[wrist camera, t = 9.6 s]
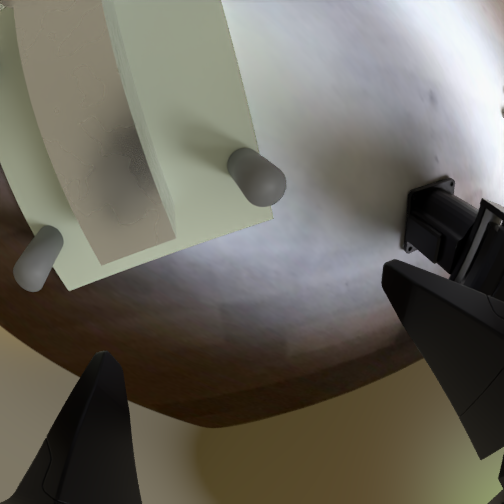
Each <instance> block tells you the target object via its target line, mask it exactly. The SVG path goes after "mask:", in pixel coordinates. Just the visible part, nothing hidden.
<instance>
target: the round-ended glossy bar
mask: <svg viewBox="0 0 504 504" xmlns="http://www.w3.org/2000/svg"><path fill="white" fill-rule="evenodd" d="M0 3H1V4H2V5H4V6H6V7H9V8H11V9H14V18H15V27H16V34H17V41H18V47H19V53H20V58H21V63H22V68H23V73H24V77H25V81H26V85H27V89H28V93H29V97H30V100H31V104H32V107H33V111H34V114H35V117H36V120H37V124H38V127H39V130H40V133H41V136H42V138H43V141H44V144H45V147H46V150H47V152H48V155H49V158H50V160H51V163H52V165H53V168H54V170H55V173H56V175H57V177H58V180H59V182H60V184H61V187H62V189H63V191H64V194H65V196H66V198H67V200H68V202H69V204H70V207H71V209H72V211H73V213H74V215H75V217H76V219H77V221H78V223H79V225H80V227H81V229H82V231H83V233H84V235H85V237H86V238H87V240H88V242H89V244H90V246H91V248H92V250H93V251H94V253H95V255H96V257H97V259H98V260H99V262H100V264H101V266H102V265H105V264H107V263H110V262H113V261H115V260H118V259H121V258H123V257H126V256H129V255H132V254H134V253H137V252H140V251H143V250H145V249H148V248H151V247H154V246H157V245H159V244H162V243H165V242H168V241H171V240H174V239H176V221H175V205H174V202H173V199H172V197H171V194H170V191H169V188H168V186H167V183H166V180H165V177H164V174H163V171H162V169H161V166H160V163H159V160H158V157H157V154H156V151H155V148H154V145H153V142H152V139H151V136H150V133H149V130H148V126H147V123H146V120H145V117H144V114H143V111H142V107H141V104H140V101H139V97H138V94H137V91H136V87H135V84H134V80H133V77H132V73H131V70H130V66H129V62H128V59H127V55H126V51H125V47H124V43H123V39H122V35H121V31H120V27H119V23H118V19H117V14H116V10H115V6H114V1H113V0H0Z"/></svg>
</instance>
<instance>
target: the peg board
mask: <svg viewBox="0 0 504 504" xmlns="http://www.w3.org/2000/svg"><path fill="white" fill-rule="evenodd" d="M113 1H114V6H115V10H116V14H117V19H118V23H119V27H120V31H121V35H122V39H123V43H124V47H125V51H126V55H127V59H128V62H129V66H130V70H131V73H132V77H133V80H134V84H135V87H136V91H137V94H138V97H139V101H140V104H141V107H142V111H143V114H144V117H145V120H146V123H147V126H148V130H149V133H150V136H151V139H152V142H153V145H154V148H155V151H156V154H157V157H158V160H159V163H160V166H161V169H162V171H163V174H164V177H165V180H166V183H167V186H168V188H169V191H170V194H171V197H172V199H173V202H174V205H175V221H176V239H174V240H171V241H168V242H165V243H162V244H159V245H157V246H154V247H151V248H148V249H145V250H143V251H140V252H137V253H134V254H132V255H129V256H126V257H123V258H121V259H118V260H115V261H113V262H110V263H107V264H105V265H102V266H101V264H100V262H99V260H98V259H97V257H96V255H95V253H94V251H93V250H92V248H91V246H90V244H89V242H88V240H87V238H86V237H85V235H84V233H83V231H82V229H81V227H80V225H79V223H78V221H77V219H76V217H75V215H74V213H73V211H72V209H71V207H70V204H69V202H68V200H67V198H66V196H65V194H64V191H63V189H62V187H61V184H60V182H59V180H58V177H57V175H56V173H55V170H54V168H53V165H52V163H51V160H50V158H49V155H48V152H47V150H46V147H45V144H44V141H43V138H42V136H41V133H40V130H39V127H38V124H37V120H36V117H35V114H34V111H33V107H32V104H31V100H30V97H29V93H28V89H27V85H26V81H25V77H24V73H23V68H22V63H21V58H20V53H19V47H18V41H17V34H16V27H15V18H14V9H11V8H9V7H5V8H4V9H2V10H1V11H0V163H1V165H2V168H3V171H4V173H5V175H6V178H7V180H8V183H9V185H10V187H11V189H12V192H13V194H14V196H15V198H16V200H17V203H18V205H19V207H20V209H21V211H22V213H23V215H24V217H25V219H26V221H27V223H28V225H29V226H30V228H31V230H32V232H33V234H34V236H35V237H34V238H33V239H32V241H31V242H30V244H29V245H28V246H27V248H26V249H25V251H24V252H23V254H22V255H21V257H20V258H19V260H18V261H17V263H16V264H15V266H14V269H13V273H14V277H15V279H16V281H17V283H18V284H19V285H20V286H21V287H22V288H24V289H25V290H27V291H31V292H36V291H39V290H40V289H41V288H42V287H43V284H44V282H45V280H46V278H47V276H48V274H49V272H50V270H51V268H52V266H53V268H54V269H55V271H56V272H57V274H58V275H59V277H60V278H61V280H62V281H63V283H64V284H65V286H66V287H67V289H68V290H69V291H71V290H73V289H76V288H78V287H81V286H84V285H86V284H89V283H92V282H94V281H97V280H100V279H102V278H105V277H108V276H110V275H113V274H116V273H118V272H121V271H124V270H127V269H129V268H132V267H135V266H138V265H140V264H143V263H146V262H149V261H151V260H154V259H157V258H160V257H163V256H165V255H168V254H171V253H174V252H177V251H180V250H182V249H185V248H188V247H191V246H194V245H197V244H200V243H203V242H205V241H208V240H211V239H214V238H217V237H220V236H223V235H226V234H229V233H232V232H235V231H238V230H241V229H244V228H247V227H250V226H253V225H256V224H259V223H262V222H265V221H268V220H271V219H274V218H273V213H272V209H271V205H273V204H275V203H276V202H278V201H279V200H280V199H281V198H282V196H283V195H284V193H285V190H286V178H285V176H284V174H283V172H282V171H281V170H280V169H279V168H277V167H276V166H275V165H273V164H272V163H271V162H269V161H268V160H267V159H265V158H264V157H263V156H261V155H260V154H259V150H258V145H257V141H256V136H255V132H254V128H253V124H252V119H251V115H250V111H249V107H248V103H247V99H246V95H245V90H244V86H243V82H242V78H241V74H240V70H239V67H238V63H237V59H236V55H235V51H234V47H233V43H232V40H231V36H230V32H229V28H228V25H227V21H226V17H225V14H224V10H223V6H222V3H221V0H113Z"/></svg>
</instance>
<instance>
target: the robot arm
mask: <svg viewBox="0 0 504 504" xmlns="http://www.w3.org/2000/svg"><path fill="white" fill-rule="evenodd" d="M454 186H455V181H454V180H453V179H452V178H448V179H445V180H442V181H438V182H435V183H432V184H429V185H426V186H423V187H420V188H417V189H414V190H411V191H410V192H409V194H408V207H407V221H406V233H405V243H404V251H405V252H406V253H408V254H409V253H411V252H413V251H415V250H419V251H420V252H421V253H422V254H423V255H425V256H426V257H427V258H428V259H429V260H430V261H432V262H433V263H434V264H435V263H437V264H438V265H440V266H441V267H442V268H443V269H444V270H445V271H446V272H448V273H449V274H451V275H450V277H449V279H446V278H444V277H441V276H439V275H436V274H434V273H431V272H428V271H426V270H423V269H421V268H418V267H415V266H413V265H410V264H407V263H405V262H402V261H399V260H396V259H393V260H391V261H388V262H386V263H385V264H384V265H383V273H382V281H381V283H382V288H383V290H384V292H385V294H386V295H387V297H388V299H389V301H390V303H391V304H392V306H393V308H394V310H395V312H396V314H397V315H398V317H399V319H400V321H401V323H402V325H403V326H404V328H405V329H406V331H407V332H408V334H409V335H410V337H411V338H412V340H413V341H414V343H415V344H416V346H417V348H418V349H419V351H420V352H421V354H422V355H423V357H424V359H425V360H426V362H427V363H428V365H429V366H430V368H431V370H432V371H433V373H434V375H435V376H436V378H437V380H438V381H439V383H440V385H441V386H442V388H443V390H444V392H445V393H446V395H447V397H448V399H449V400H450V402H451V404H452V406H453V407H454V409H455V411H456V413H457V415H458V416H459V419H460V421H461V423H462V424H463V426H464V428H465V430H466V432H467V434H468V436H469V438H470V440H471V442H472V444H473V446H474V448H475V450H476V452H477V454H478V456H479V458H480V460H482V459H484V458H486V457H488V456H489V455H491V454H493V453H494V452H496V451H497V450H499V449H501V448H502V447H504V207H503V206H501V205H499V204H496V203H494V202H491V201H489V200H486V199H484V198H482V199H481V202H480V208H479V210H478V209H476V208H475V207H473V206H472V205H470V204H468V203H467V202H465V201H463V200H462V199H460V198H458V197H457V196H455V195H454ZM501 220H503V222H502V225H500V223H501ZM498 479H499V481H500V483H501V485H502V487H503V490H502V491H501V492H500V493H499V494H498V495H496V497H494V498H493V499H492V500H491V501H490V502H489V503H488V504H504V455H503V460H502V465H501V469H500V473H499V477H498ZM0 504H142V501H141V496H140V490H139V485H138V479H137V473H136V467H135V459H134V452H133V443H132V434H131V424H130V413H129V407H128V401H127V395H126V389H125V382H124V375H123V370H122V367H121V365H120V364H119V363H118V362H117V361H116V360H115V358H114V357H113V356H112V355H111V354H110V353H109V352H108V351H102V352H98V353H96V354H95V355H94V356H93V358H92V360H91V361H90V363H89V364H88V366H87V368H86V369H85V371H84V372H83V374H82V376H81V377H80V379H79V381H78V382H77V384H76V385H75V387H74V389H73V390H72V392H71V394H70V396H69V397H68V399H67V401H66V402H65V404H64V406H63V407H62V409H61V411H60V413H59V415H58V416H57V418H56V420H55V422H54V424H53V425H52V427H51V429H50V431H49V433H48V434H47V438H46V439H45V440H44V442H43V444H42V446H41V448H40V450H39V451H38V453H37V455H36V457H35V459H34V460H33V462H32V464H31V466H30V467H29V469H28V471H27V472H26V474H25V476H24V477H23V479H22V481H21V482H20V484H19V486H18V488H17V489H16V491H15V493H14V494H13V495H12V496H11V497H10V498H9V499H7V500H5V501H3V502H1V503H0Z"/></svg>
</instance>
